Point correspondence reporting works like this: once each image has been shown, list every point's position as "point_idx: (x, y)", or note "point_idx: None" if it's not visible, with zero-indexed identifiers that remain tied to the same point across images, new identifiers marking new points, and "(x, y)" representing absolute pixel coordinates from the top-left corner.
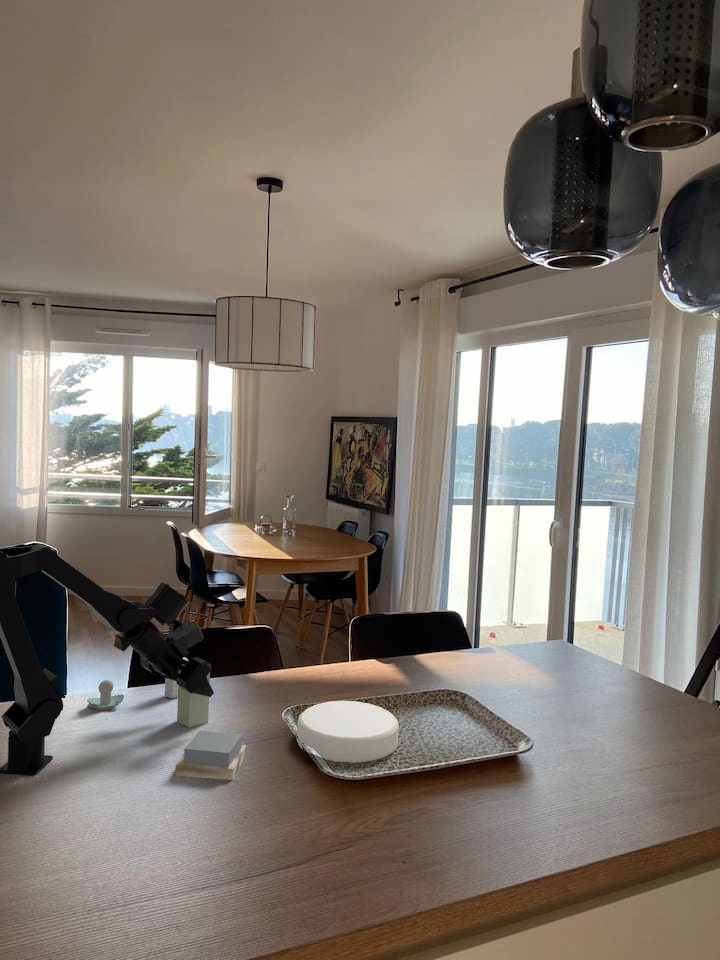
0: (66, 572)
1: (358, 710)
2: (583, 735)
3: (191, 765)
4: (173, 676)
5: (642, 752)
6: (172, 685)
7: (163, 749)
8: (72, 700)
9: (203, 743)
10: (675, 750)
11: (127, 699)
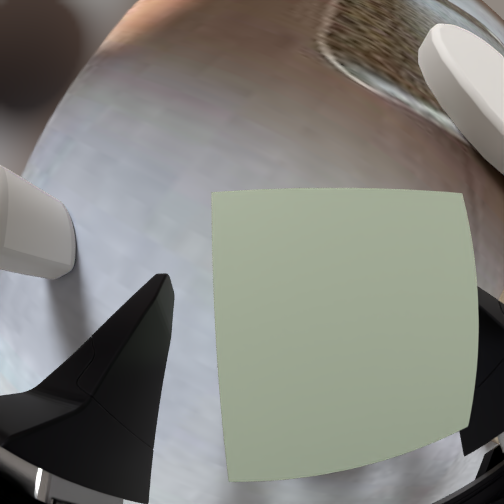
0: None
1: (481, 52)
2: (475, 8)
3: None
4: (151, 396)
5: (498, 21)
6: (47, 262)
7: None
8: None
9: None
10: (494, 14)
11: (30, 369)
